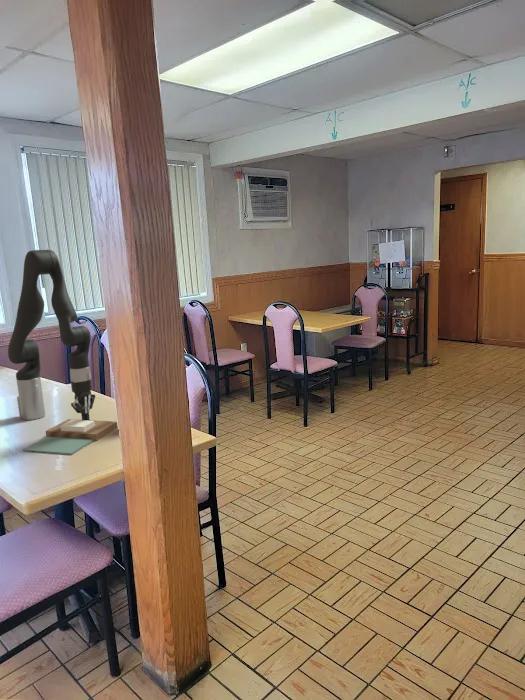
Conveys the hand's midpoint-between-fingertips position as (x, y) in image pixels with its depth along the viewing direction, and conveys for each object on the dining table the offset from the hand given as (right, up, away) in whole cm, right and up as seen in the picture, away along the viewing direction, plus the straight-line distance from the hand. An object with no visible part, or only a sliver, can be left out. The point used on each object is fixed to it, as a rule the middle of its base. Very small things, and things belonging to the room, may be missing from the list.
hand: (86, 421), depth 200 cm
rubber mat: (-5, -7, -15) cm, 17 cm away
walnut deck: (-1, -4, -2) cm, 4 cm away
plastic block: (-2, -1, -5) cm, 5 cm away
